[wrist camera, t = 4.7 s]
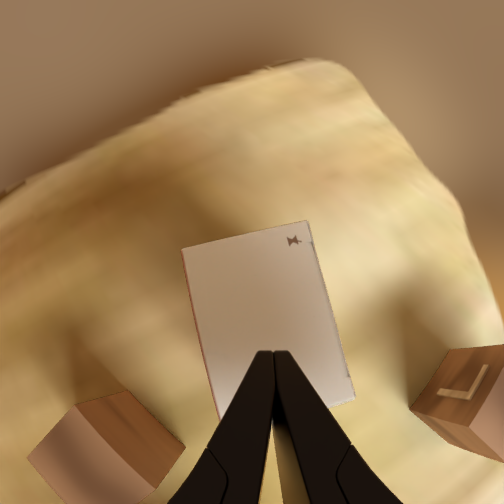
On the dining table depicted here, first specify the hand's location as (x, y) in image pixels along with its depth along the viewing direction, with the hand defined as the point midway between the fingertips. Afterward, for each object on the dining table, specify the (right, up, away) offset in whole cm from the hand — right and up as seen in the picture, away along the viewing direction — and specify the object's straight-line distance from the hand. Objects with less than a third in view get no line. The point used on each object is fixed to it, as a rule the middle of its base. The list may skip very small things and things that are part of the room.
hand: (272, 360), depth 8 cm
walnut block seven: (+16, -9, +12) cm, 22 cm away
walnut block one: (-10, -11, +11) cm, 19 cm away
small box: (0, -3, +14) cm, 14 cm away
